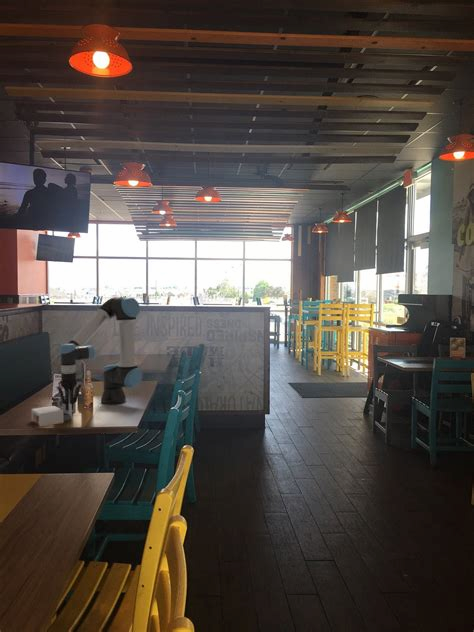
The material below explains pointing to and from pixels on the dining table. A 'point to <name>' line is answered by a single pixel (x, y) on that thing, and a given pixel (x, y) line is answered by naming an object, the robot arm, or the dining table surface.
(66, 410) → the cup
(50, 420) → the small white side table
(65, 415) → the grey storage tray
